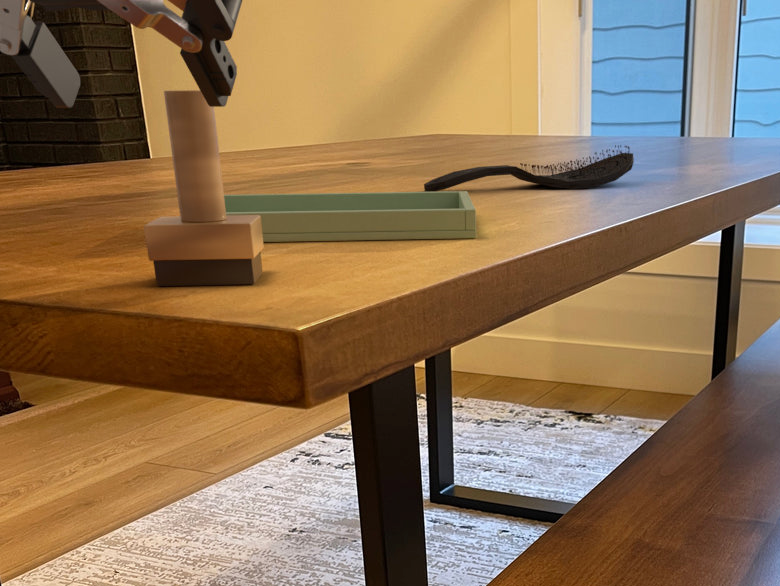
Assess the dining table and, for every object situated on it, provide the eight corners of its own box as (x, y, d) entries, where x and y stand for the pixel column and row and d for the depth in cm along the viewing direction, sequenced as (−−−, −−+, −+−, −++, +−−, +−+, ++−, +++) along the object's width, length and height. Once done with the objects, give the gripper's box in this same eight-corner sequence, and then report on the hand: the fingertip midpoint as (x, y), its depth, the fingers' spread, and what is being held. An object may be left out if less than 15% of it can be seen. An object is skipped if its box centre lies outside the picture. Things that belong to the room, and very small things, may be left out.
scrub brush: (152, 287, 58) (123, 91, 54) (168, 275, 62) (142, 90, 57) (257, 284, 58) (236, 90, 54) (266, 272, 62) (247, 89, 58)
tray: (183, 243, 74) (179, 214, 73) (217, 220, 86) (214, 194, 85) (476, 238, 75) (475, 209, 74) (467, 216, 88) (467, 191, 87)
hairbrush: (410, 162, 108) (611, 142, 117) (413, 197, 110) (611, 175, 119) (437, 167, 101) (649, 147, 110) (440, 205, 103) (648, 181, 112)
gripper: (144, -316, 37) (290, 38, 52) (-191, -290, 39) (41, 42, 54) (89, -179, 34) (259, 153, 49) (-267, -159, 37) (-1, 152, 51)
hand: (145, 94), depth 52 cm, fingers open, 8 cm apart
